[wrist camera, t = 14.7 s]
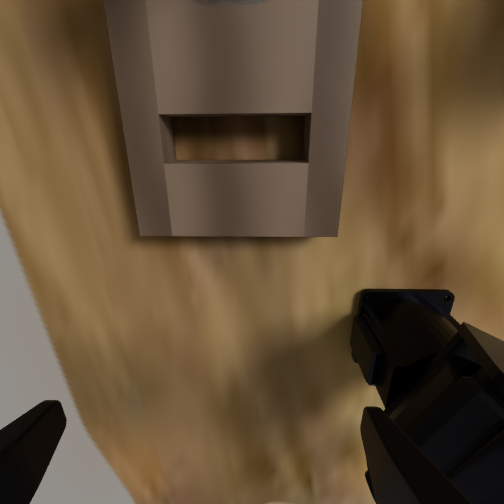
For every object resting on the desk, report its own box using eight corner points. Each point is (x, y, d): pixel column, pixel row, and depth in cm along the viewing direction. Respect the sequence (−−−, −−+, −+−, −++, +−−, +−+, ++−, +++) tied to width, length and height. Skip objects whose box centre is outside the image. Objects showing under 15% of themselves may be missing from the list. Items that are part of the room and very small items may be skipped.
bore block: (378, -305, 12) (406, -414, 9) (328, 225, 20) (337, 236, 17) (84, -287, 12) (42, -387, 10) (153, 224, 20) (139, 236, 18)
